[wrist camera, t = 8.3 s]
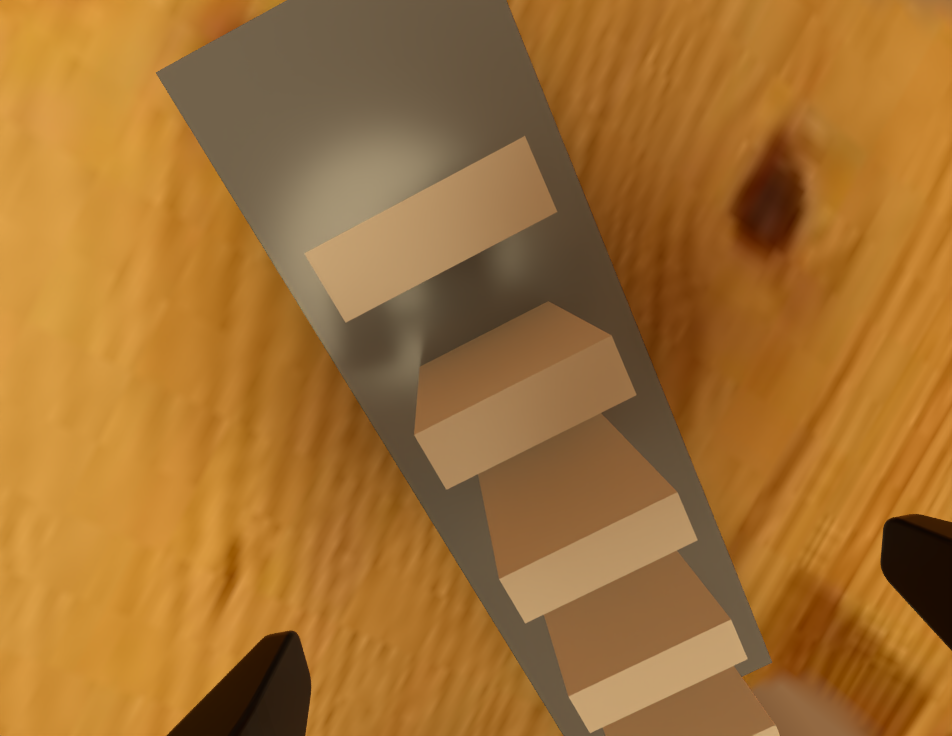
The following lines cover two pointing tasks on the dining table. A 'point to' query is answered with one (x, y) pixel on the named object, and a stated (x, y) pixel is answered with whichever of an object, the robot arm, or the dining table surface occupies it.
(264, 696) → the robot arm
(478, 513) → the metal plate
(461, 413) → the domino
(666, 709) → the domino
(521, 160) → the domino
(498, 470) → the domino
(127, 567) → the dining table surface
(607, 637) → the domino
